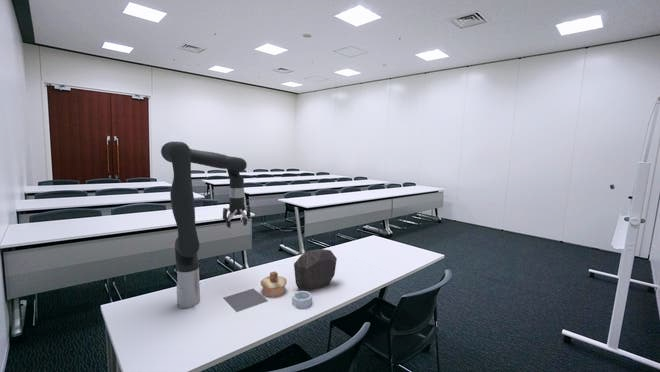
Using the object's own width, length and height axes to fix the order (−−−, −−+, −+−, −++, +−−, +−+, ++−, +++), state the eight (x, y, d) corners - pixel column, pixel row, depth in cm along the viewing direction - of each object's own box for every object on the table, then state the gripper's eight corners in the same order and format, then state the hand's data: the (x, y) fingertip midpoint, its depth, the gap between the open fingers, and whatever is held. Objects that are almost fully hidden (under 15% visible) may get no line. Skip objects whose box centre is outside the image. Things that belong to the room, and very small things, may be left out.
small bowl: (299, 310, 142) (299, 302, 141) (289, 302, 149) (289, 294, 148) (315, 304, 148) (315, 296, 147) (304, 296, 155) (304, 289, 154)
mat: (236, 312, 139) (236, 312, 139) (222, 298, 151) (222, 297, 151) (268, 301, 149) (268, 301, 149) (253, 289, 161) (253, 288, 161)
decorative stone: (299, 295, 156) (300, 257, 153) (291, 288, 163) (292, 251, 160) (339, 284, 169) (340, 249, 166) (330, 278, 176) (331, 244, 173)
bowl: (269, 299, 151) (269, 289, 150) (259, 290, 159) (259, 281, 159) (288, 292, 158) (288, 283, 157) (277, 284, 166) (277, 276, 166)
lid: (268, 291, 149) (268, 280, 148) (256, 281, 159) (256, 271, 158) (291, 283, 157) (291, 274, 156) (278, 275, 167) (278, 265, 166)
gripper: (226, 198, 153) (226, 230, 156) (252, 196, 162) (252, 226, 165) (220, 196, 159) (220, 226, 161) (246, 193, 168) (246, 222, 170)
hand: (237, 226), depth 163 cm, fingers open, 8 cm apart
